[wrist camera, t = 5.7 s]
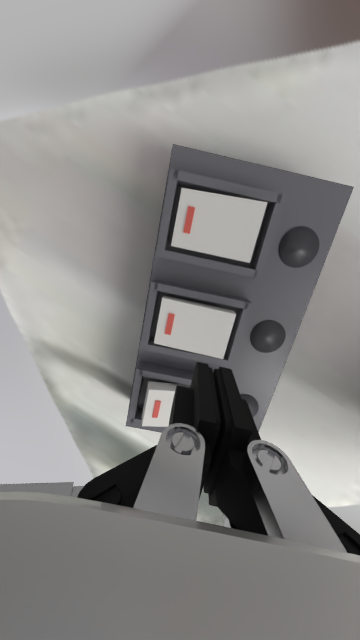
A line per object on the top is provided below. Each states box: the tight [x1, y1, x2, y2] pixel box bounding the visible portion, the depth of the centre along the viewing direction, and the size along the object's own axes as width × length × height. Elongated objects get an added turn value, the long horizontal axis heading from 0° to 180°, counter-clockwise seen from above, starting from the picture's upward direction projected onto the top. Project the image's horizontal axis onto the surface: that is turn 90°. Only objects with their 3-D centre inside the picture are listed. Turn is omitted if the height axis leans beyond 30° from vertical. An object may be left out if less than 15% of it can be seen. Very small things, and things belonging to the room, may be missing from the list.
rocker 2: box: [171, 188, 268, 263], centre depth 17 cm, size 6×4×1 cm, turn 78°
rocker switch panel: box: [126, 144, 354, 432], centre depth 22 cm, size 14×26×6 cm, turn 168°
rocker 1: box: [142, 381, 190, 427], centre depth 21 cm, size 6×4×1 cm, turn 78°
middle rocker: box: [154, 295, 236, 359], centre depth 19 cm, size 6×4×1 cm, turn 78°
